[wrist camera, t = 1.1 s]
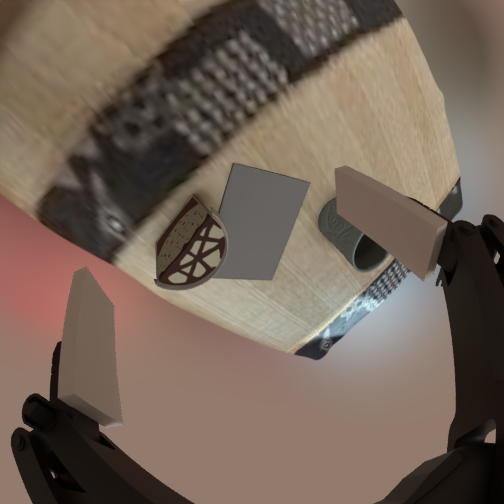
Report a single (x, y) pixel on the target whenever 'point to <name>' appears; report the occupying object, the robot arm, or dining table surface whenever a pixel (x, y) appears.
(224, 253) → the food container
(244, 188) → the mat
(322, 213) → the grey green cup
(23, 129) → the dining table surface
